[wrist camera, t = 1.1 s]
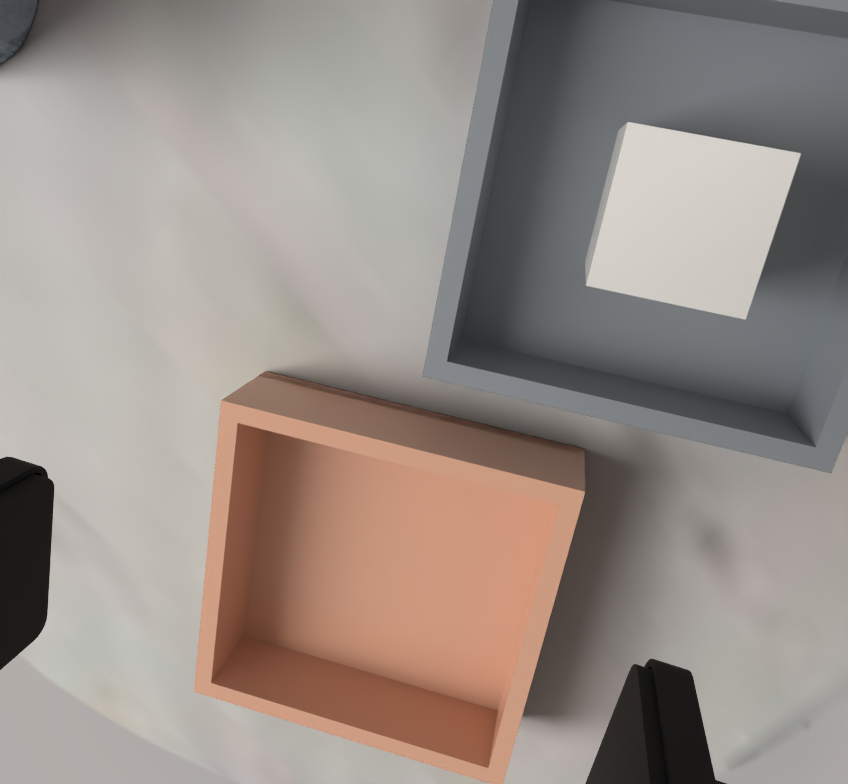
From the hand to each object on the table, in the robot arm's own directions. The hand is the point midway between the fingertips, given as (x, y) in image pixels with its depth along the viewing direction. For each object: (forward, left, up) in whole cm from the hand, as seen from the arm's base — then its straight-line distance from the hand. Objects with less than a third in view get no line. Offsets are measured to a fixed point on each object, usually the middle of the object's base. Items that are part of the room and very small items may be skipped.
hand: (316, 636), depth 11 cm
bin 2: (-6, +6, -22) cm, 23 cm away
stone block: (-6, +6, -21) cm, 23 cm away
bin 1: (+12, -2, -22) cm, 25 cm away
